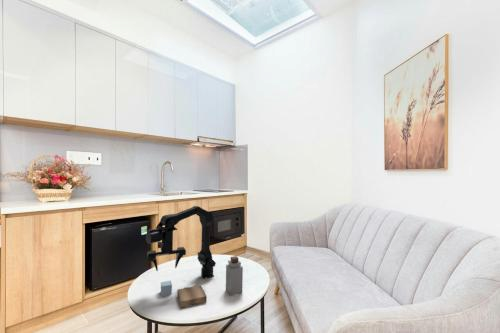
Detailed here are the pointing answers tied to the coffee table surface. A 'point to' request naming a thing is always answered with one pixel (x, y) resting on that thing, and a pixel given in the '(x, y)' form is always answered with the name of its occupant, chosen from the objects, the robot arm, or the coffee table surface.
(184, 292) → the walnut plinth
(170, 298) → the coffee table surface
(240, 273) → the perfume bottle
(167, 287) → the slate block
